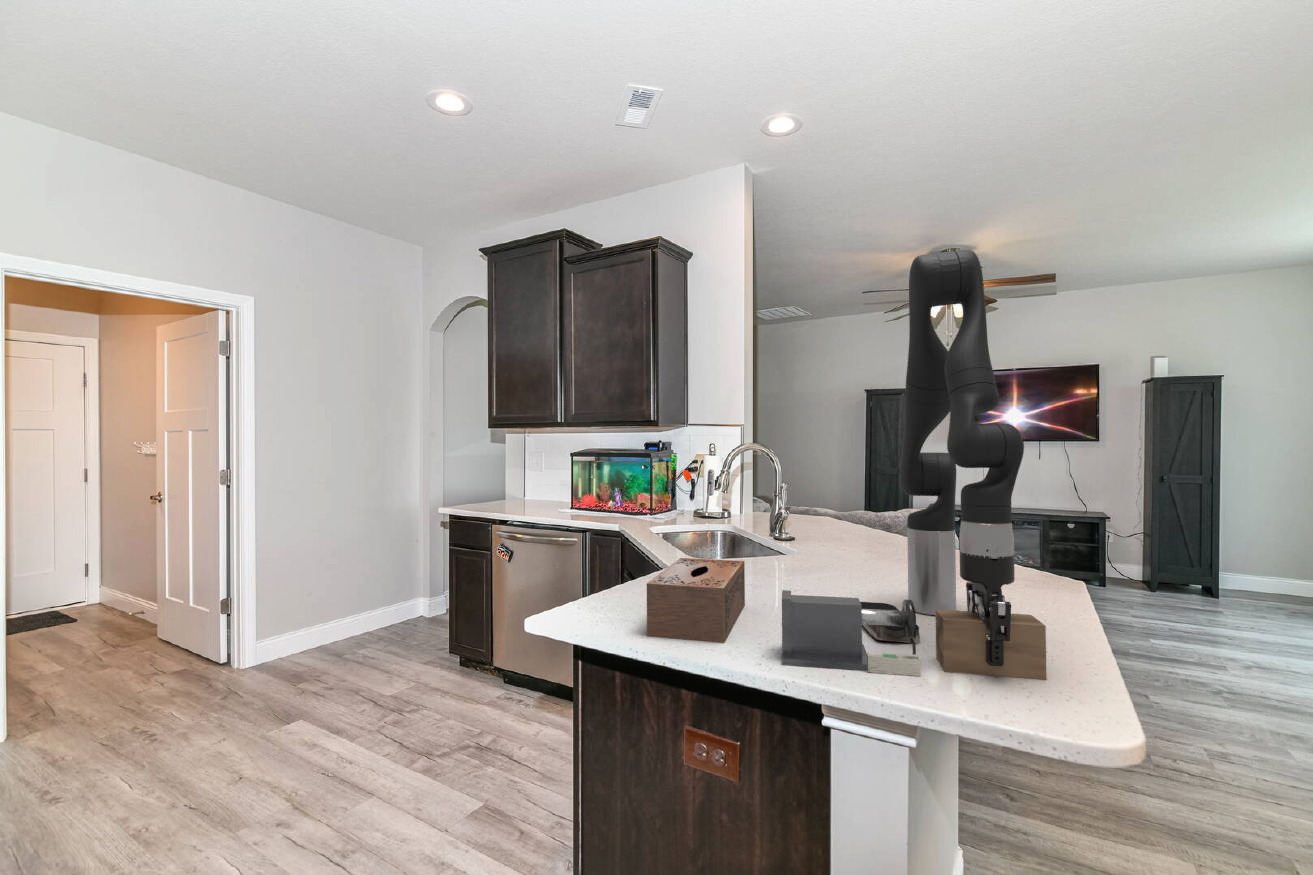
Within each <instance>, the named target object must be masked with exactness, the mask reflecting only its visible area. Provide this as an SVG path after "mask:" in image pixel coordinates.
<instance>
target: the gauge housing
mask: <svg viewBox="0 0 1313 875" xmlns="http://www.w3.org/2000/svg"><path fill="white" fill-rule="evenodd" d="M860 602H861V601H860V599H859V598H858V597H845V596H844V597H843V596H842V597H841V596H822V595H821V596H820V595H804V594H803V595H800V594H792V590H791V589H790V590H789V589H788V590H786V589H784V590H783V589H782V590H781V641H782V642H781V663H782V664H781V665H782V666H792V667H794V666H796V667H809V668H823V669H838V670H850V671H852V670H853V671H865V672H867V673H872V674H873V673H874V674H886V675H887V674H889V675H890V674H891V675H901V676H917V677H920V676H921V658H920V657H919V656H915V655H914V656H911V655H900V654H899V655H897V654H893V653H892V654H891V653H890V654H889V653H868V652H867V650H866V648H865V645H864V643H863V625H862V605H861V603H860Z"/></svg>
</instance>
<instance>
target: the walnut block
mask: <svg viewBox="0 0 1313 875" xmlns="http://www.w3.org/2000/svg"><path fill="white" fill-rule="evenodd" d="M935 610H936V615H935V659H936V660H937V663H938V664H939V666H940V668H941V669H942V670H943V672H944V673H956V674H957V673H958V674H969V675H979V676H980V675H981V676H994V677H996V676H997V677H1006V678H1007V677H1008V678H1020V679H1032V680H1045V681H1047V634H1046V633H1047V632H1046V630H1047V629H1046V628H1047V626H1046V625H1045V624H1044V623H1043V622H1041V621H1040V620H1038V619H1037V618H1036V617H1035V616H1034V615H1032V614H1027V613H1026V614H1022V613H1011V625H1010V641H1005V642H1003V648H1004V665H1003V666H990V665H989V664H988V663H987V662H986V637H985V625H984V624H982V622H981V621H980V619H979V613H971V612H970V611H968V610H956V611H955V610H937V609H935ZM986 618H987V617H986ZM988 619H990V618H988ZM996 632H999V626H996Z"/></svg>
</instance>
